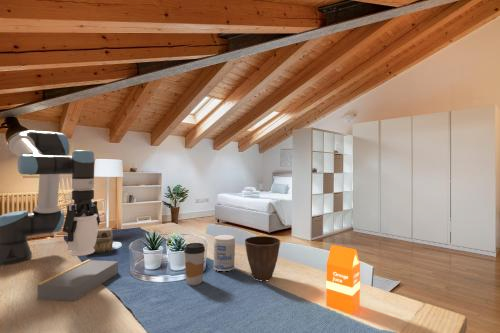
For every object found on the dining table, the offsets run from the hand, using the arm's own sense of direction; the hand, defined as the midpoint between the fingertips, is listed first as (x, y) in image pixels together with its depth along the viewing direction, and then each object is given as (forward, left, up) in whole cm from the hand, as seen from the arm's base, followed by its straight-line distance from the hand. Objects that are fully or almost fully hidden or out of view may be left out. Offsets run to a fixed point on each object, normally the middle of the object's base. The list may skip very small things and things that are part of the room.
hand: (82, 245), depth 110 cm
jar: (0, 0, -3) cm, 3 cm away
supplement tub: (-24, +52, -16) cm, 59 cm away
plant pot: (-16, +70, -16) cm, 73 cm away
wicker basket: (-42, -23, -16) cm, 50 cm away
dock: (0, 0, -15) cm, 15 cm away
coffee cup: (-8, +43, -16) cm, 46 cm away
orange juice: (+4, +99, -16) cm, 100 cm away
